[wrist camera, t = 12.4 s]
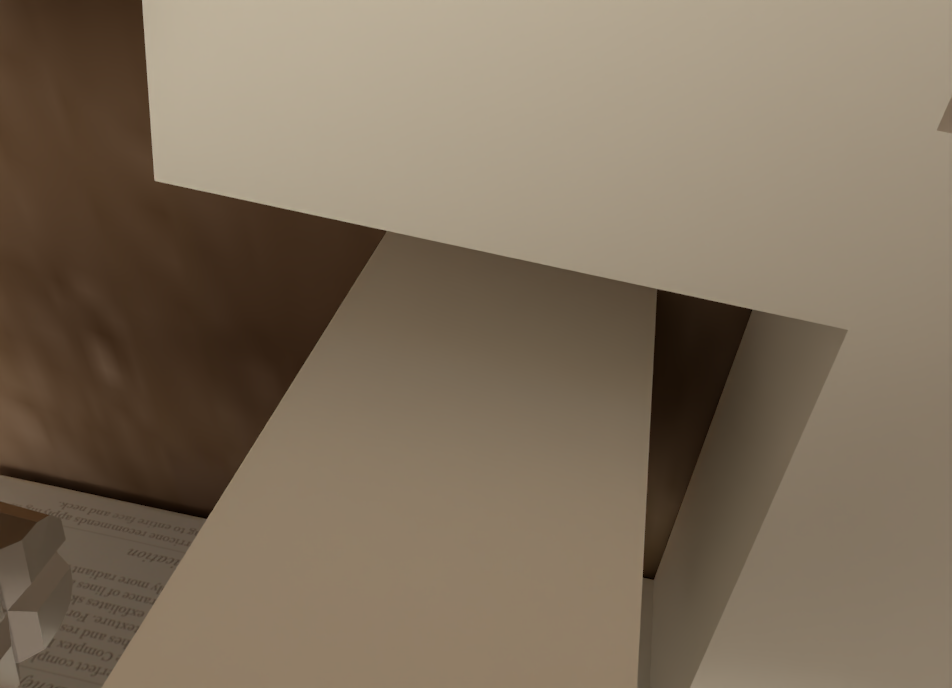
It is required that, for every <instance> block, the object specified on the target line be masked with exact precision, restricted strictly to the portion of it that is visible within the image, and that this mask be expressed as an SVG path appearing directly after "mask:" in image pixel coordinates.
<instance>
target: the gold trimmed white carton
mask: <svg viewBox="0 0 952 688" xmlns="http://www.w3.org/2000/svg"><path fill="white" fill-rule="evenodd" d="M656 301H657V289H655V288H651V287H646V286H641V285H637V284H632V283H627V282H623V281H618V280H613V279H609V278H604V277H600V276H595V275H590V274H586V273H581V272H576V271H572V270H567V269H562V268H558V267H553V266H548V265H544V264H539V263H534V262H530V261H525V260H520V259H516V258H511V257H506V256H502V255H497V254H493V253H488V252H483V251H479V250H474V249H469V248H465V247H460V246H455V245H451V244H446V243H441V242H437V241H432V240H427V239H423V238H418V237H413V236H409V235H404V234H400V233H395V232H390V231H387V232H386V233H385V235H384V237H383V238H382V240H381V241H380V243H379V245H378V246H377V248H376V249H375V251H374V253H373V254H372V256H371V257H370V259H369V261H368V262H367V264H366V265H365V267H364V269H363V270H362V272H361V273H360V275H359V277H358V278H357V280H356V281H355V283H354V285H353V286H352V288H351V289H350V291H349V293H348V294H347V296H346V297H345V299H344V301H343V302H342V304H341V305H340V307H339V309H338V310H337V312H336V313H335V315H334V317H333V318H332V320H331V321H330V323H329V325H328V326H327V328H326V329H325V331H324V333H323V334H322V336H321V337H320V339H319V341H318V342H317V344H316V345H315V347H314V349H313V350H312V352H311V353H310V355H309V357H308V358H307V360H306V361H305V363H304V365H303V366H302V368H301V369H300V371H299V373H298V374H297V376H296V377H295V379H294V381H293V382H292V384H291V385H290V387H289V389H288V390H287V392H286V393H285V395H284V397H283V398H282V400H281V401H280V403H279V405H278V406H277V408H276V409H275V411H274V413H273V414H272V416H271V417H270V419H269V421H268V422H267V424H266V425H265V427H264V429H263V430H262V432H261V433H260V435H259V437H258V438H257V440H256V441H255V443H254V445H253V446H252V448H251V449H250V451H249V453H248V454H247V456H246V457H245V459H244V461H243V462H242V464H241V465H240V467H239V469H238V470H237V472H236V473H235V475H234V477H233V478H232V480H231V481H230V483H229V485H228V486H227V488H226V489H225V491H224V493H223V494H222V496H221V497H220V499H219V501H218V502H217V504H216V505H215V507H214V509H213V510H212V512H211V513H210V515H209V517H208V518H207V520H206V521H205V523H204V525H203V526H202V528H201V529H200V531H199V532H198V534H197V536H196V537H195V539H194V540H193V542H192V544H191V545H190V547H189V548H188V550H187V552H186V553H185V555H184V556H183V558H182V560H181V561H180V563H179V564H178V566H177V568H176V569H175V571H174V572H173V574H172V576H171V577H170V579H169V580H168V582H167V584H166V585H165V587H164V588H163V590H162V592H161V593H160V595H159V596H158V598H157V600H156V601H155V603H154V604H153V606H152V608H151V609H150V611H149V612H148V614H147V616H146V617H145V619H144V620H143V622H142V624H141V625H140V627H139V628H138V630H137V632H136V633H135V635H134V636H133V638H132V640H131V641H130V643H129V644H128V646H127V648H126V649H125V651H124V652H123V654H122V656H121V657H120V659H119V660H118V662H117V664H116V665H115V667H114V668H113V670H112V672H111V673H110V675H109V676H108V678H107V680H106V681H105V683H104V684H103V686H102V688H637V679H638V659H639V639H640V619H641V599H642V579H643V559H644V540H645V520H646V500H647V480H648V460H649V440H650V420H651V400H652V380H653V360H654V340H655V321H656Z"/></svg>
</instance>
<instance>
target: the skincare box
mask: <svg viewBox="0 0 952 688" xmlns="http://www.w3.org/2000/svg"><path fill="white" fill-rule="evenodd" d="M0 501H1V502H5V503H8V504H12V505H15V506H19V507H23V508H26V509H30V510H33V511H37V512H40V513H44V514H47V515H51V516H55V517H58V518H61V521H62V525H63V530H64V534H65V538H66V540H65V541H64V542H63V544H62V545H61V546H60V548H59V549H58V550H57V552H58V554H59V555H60V556H61V557H62V558H63V559H64V560H65V562H66V563H67V564H68V565H69V566H70V567H71V574H72V580H73V585H72V594H71V602H70V604H69V607H68V609H67V612H66V614H65V616H64V619H63V621H62V624H61V626H60V628H59V630H58V631H57V633H56V634H55V635H54V637H53V638H52V640H51V641H50V643H49V644H48V646H47V647H46V649H45V650H43V651H41V652H39V653H37V654H36V655H34V656H32V657H30V658H28V659H26V660H24V661H22V662H20V663H19V672H20V685H19V686H18V687H17V688H102V686H103V684H104V683H105V681H106V680H107V678H108V676H109V675H110V673H111V672H112V670H113V668H114V667H115V665H116V664H117V662H118V660H119V659H120V657H121V656H122V654H123V652H124V651H125V649H126V648H127V646H128V644H129V643H130V641H131V640H132V638H133V636H134V635H135V633H136V632H137V630H138V628H139V627H140V625H141V624H142V622H143V620H144V619H145V617H146V616H147V614H148V612H149V611H150V609H151V608H152V606H153V604H154V603H155V601H156V600H157V598H158V596H159V595H160V593H161V592H162V590H163V588H164V587H165V585H166V584H167V582H168V580H169V579H170V577H171V576H172V574H173V572H174V571H175V569H176V568H177V566H178V564H179V563H180V561H181V560H182V558H183V556H184V555H185V553H186V552H187V550H188V548H189V547H190V545H191V544H192V542H193V540H194V539H195V537H196V536H197V534H198V532H199V531H200V529H201V528H202V526H203V525H204V523H205V521H206V520H207V519H204V518H200V517H195V516H190V515H185V514H181V513H176V512H171V511H167V510H162V509H158V508H153V507H148V506H144V505H139V504H134V503H130V502H125V501H120V500H116V499H111V498H106V497H102V496H97V495H93V494H88V493H83V492H79V491H74V490H69V489H65V488H60V487H55V486H51V485H46V484H41V483H37V482H32V481H27V480H23V479H18V478H13V477H8V476H4V475H0Z"/></svg>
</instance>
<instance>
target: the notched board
mask: <svg viewBox="0 0 952 688" xmlns="http://www.w3.org/2000/svg"><path fill="white" fill-rule="evenodd" d="M142 7H143V22H144V36H145V51H146V65H147V80H148V94H149V109H150V123H151V138H152V152H153V167H154V181H158V182H162V183H167V184H172V185H176V186H181V187H186V188H190V189H195V190H199V191H204V192H209V193H213V194H218V195H223V196H227V197H232V198H237V199H241V200H246V201H251V202H255V203H260V204H265V205H269V206H274V207H279V208H283V209H288V210H293V211H297V212H302V213H306V214H311V215H316V216H320V217H325V218H330V219H334V220H339V221H344V222H348V223H353V224H358V225H362V226H367V227H372V228H376V229H381V230H386V231H390V232H395V233H400V234H404V235H409V236H413V237H418V238H423V239H427V240H432V241H437V242H441V243H446V244H451V245H455V246H460V247H465V248H469V249H474V250H479V251H483V252H488V253H493V254H497V255H502V256H506V257H511V258H516V259H520V260H525V261H530V262H534V263H539V264H544V265H548V266H553V267H558V268H562V269H567V270H572V271H576V272H581V273H586V274H590V275H595V276H600V277H604V278H609V279H613V280H618V281H623V282H627V283H632V284H637V285H641V286H646V287H651V288H655V289H660V290H665V291H669V292H674V293H679V294H683V295H688V296H693V297H697V298H702V299H707V300H711V301H716V302H720V303H725V304H730V305H734V306H739V307H744V308H748V309H753V310H752V312H751V315H750V318H749V321H748V323H747V326H746V329H745V332H744V334H743V337H742V340H741V343H740V345H739V348H738V351H737V354H736V356H735V359H734V362H733V365H732V367H731V370H730V373H729V375H728V378H727V381H726V384H725V386H724V389H723V392H722V395H721V397H720V400H719V403H718V406H717V408H716V411H715V414H714V417H713V419H712V422H711V425H710V428H709V430H708V433H707V436H706V438H705V441H704V444H703V447H702V449H701V452H700V455H699V458H698V460H697V463H696V466H695V469H694V471H693V474H692V477H691V480H690V482H689V485H688V488H687V491H686V493H685V496H684V499H683V501H682V504H681V507H680V510H679V512H678V515H677V518H676V521H675V523H674V526H673V529H672V532H671V534H670V537H669V540H668V543H667V545H666V548H665V551H664V554H663V556H662V559H661V562H660V564H659V567H658V570H657V573H656V575H655V578H654V580H652V579H647V578H643V579H642V599H641V619H640V639H639V659H638V679H637V688H952V0H142Z"/></svg>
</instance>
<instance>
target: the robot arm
mask: <svg viewBox="0 0 952 688" xmlns="http://www.w3.org/2000/svg"><path fill="white" fill-rule="evenodd" d="M65 540H66V538H65V534H64V530H63V525H62V521H61V518H58V517H55V516H51V515H47V514H44V513H40V512H37V511H33V510H30V509H26V508H23V507H19V506H15V505H12V504H8V503H5V502H1V501H0V688H17V687H18V686H19V685H20V672H19V663H20V662H22V661H24V660H26V659H28V658H30V657H32V656H34V655H36V654H37V653H39V652H41V651H43V650H45V649H46V647H47V646H48V644H49V643H50V641H51V640H52V638H53V637H54V635H55V634H56V633H57V631H58V630H59V628H60V626H61V624H62V621H63V619H64V616H65V614H66V612H67V609H68V607H69V604H70V602H71V594H72V585H73V580H72V574H71V567H70V566H69V565H68V564H67V563H66V562H65V560H64V559H63V558H62V557H61V556H60V555H59V554H58V552H57V550H58V549H59V548H60V546H61V545H62V544H63V542H64V541H65Z"/></svg>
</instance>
